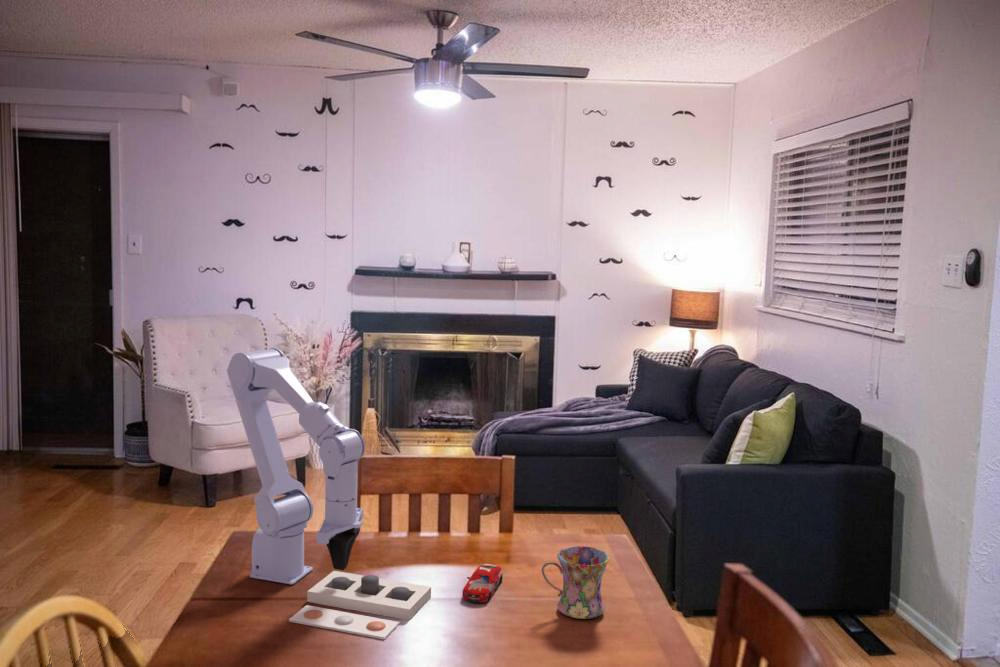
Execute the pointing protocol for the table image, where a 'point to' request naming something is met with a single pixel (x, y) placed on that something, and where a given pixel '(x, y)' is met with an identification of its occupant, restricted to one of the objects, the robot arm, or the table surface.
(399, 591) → the button outer
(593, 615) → the mug
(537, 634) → the table surface
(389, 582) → the button board
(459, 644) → the table surface
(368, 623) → the pattern card
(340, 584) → the button inner
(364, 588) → the button middle
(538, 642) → the table surface
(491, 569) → the race car
